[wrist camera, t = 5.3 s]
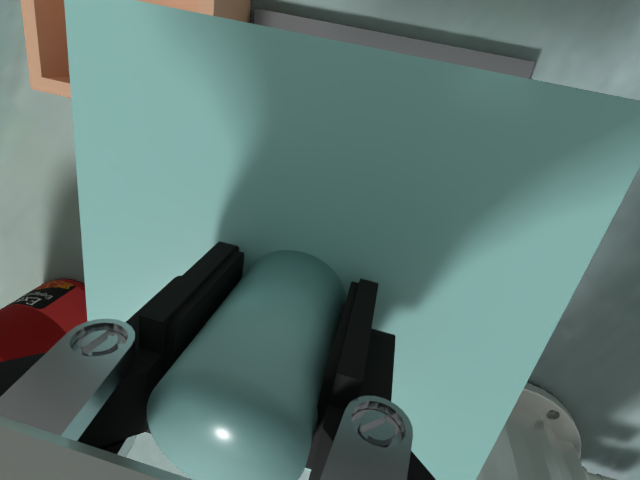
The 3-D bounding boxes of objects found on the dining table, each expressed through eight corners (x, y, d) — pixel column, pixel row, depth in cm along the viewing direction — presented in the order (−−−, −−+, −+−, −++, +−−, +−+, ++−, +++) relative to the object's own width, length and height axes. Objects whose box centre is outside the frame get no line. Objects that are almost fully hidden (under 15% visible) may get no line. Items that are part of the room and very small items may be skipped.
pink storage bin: (259, -85, 23) (221, -120, 18) (240, 117, 28) (206, 129, 23) (79, -115, 24) (2, -155, 20) (90, 84, 29) (31, 88, 24)
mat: (532, 62, 23) (535, 62, 22) (444, 300, 30) (445, 305, 29) (258, 9, 25) (255, 8, 24) (234, 246, 32) (231, 249, 31)
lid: (650, 103, 9) (958, 157, 4) (453, 496, 15) (474, 725, 10) (85, -10, 11) (-220, -75, 6) (107, 386, 17) (-32, 534, 12)
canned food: (73, 261, 35) (-58, 339, 26) (135, 331, 37) (34, 430, 27) (25, 297, 38) (-109, 380, 28) (84, 361, 40) (-23, 459, 30)
